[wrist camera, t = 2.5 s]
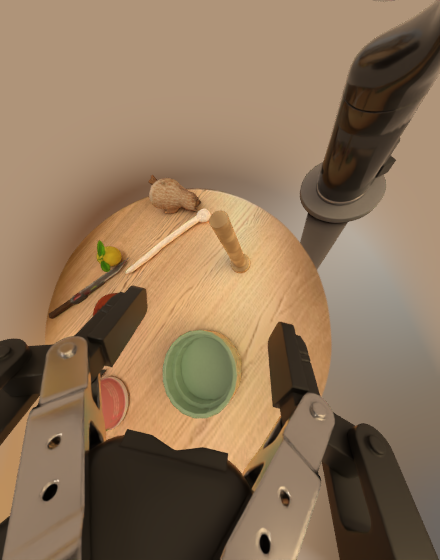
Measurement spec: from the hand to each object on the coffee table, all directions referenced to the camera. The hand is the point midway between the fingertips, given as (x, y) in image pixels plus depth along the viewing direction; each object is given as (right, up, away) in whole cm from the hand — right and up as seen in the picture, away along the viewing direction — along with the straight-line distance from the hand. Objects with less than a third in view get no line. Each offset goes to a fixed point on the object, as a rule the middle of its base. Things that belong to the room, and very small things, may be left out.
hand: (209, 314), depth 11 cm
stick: (+5, +6, +31) cm, 32 cm away
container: (-27, -24, +23) cm, 43 cm away
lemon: (-30, +10, +43) cm, 54 cm away
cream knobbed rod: (-13, +11, +39) cm, 42 cm away
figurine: (-19, +27, +40) cm, 52 cm away
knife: (-24, +8, +40) cm, 47 cm away
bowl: (-2, -16, +27) cm, 32 cm away
